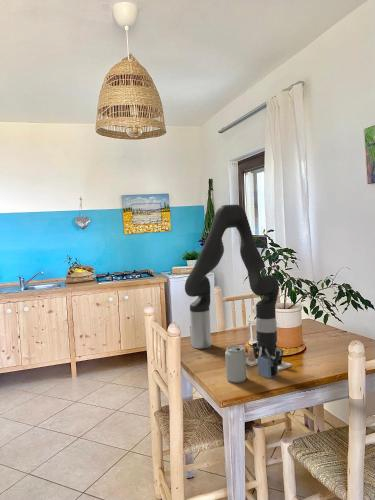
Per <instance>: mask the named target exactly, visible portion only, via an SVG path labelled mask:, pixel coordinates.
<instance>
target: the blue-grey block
mask: <svg viewBox="0 0 375 500" xmlns="http://www.w3.org/2000/svg"><path fill="white" fill-rule="evenodd" d="M271 357H273V356H271ZM273 363H274V359H273ZM257 374H258V376H261V377H264V378H266V379H268V380H269V379H271V378H274V377H277V376H279V371H278V366H277V374H276V375H275V376H271V362H270V360H268V357H267V356H266V355H264V356H261V357H260V356H259V357H258V364H257Z"/></svg>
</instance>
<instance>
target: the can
mask: <svg viewBox="0 0 375 500" xmlns="http://www.w3.org/2000/svg"><path fill="white" fill-rule="evenodd" d="M224 354H225V355H224V357H225V374H226V375H225V377H226V379H227V380H228V381H229V382H230V383H233V384H234V383H236V384H237V383H238V384H239V383H240V384H241V383H243V382H245V380H246V379H247V378H248V377H247V375H248V374H247V364H246V357H247V356H246V351H245V350H244V347H243V346H241V345H230V346H228V347H226V350H225V352H224Z"/></svg>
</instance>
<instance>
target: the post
mask: <svg viewBox="0 0 375 500" xmlns="http://www.w3.org/2000/svg"><path fill="white" fill-rule="evenodd" d="M277 349H279V350H282V348H280V347H277ZM290 367H293V366H292V363H289V362H286V361H283V360H282V364H281V365H278V372H279V371H282V370H284V369H288V368H290Z"/></svg>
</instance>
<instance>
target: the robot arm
mask: <svg viewBox="0 0 375 500" xmlns="http://www.w3.org/2000/svg"><path fill="white" fill-rule="evenodd" d="M210 226H211V227H210V230H209V233H208V235H207V237H206V239H205V242H204V244H203V246H202V248H201V250H200V253H199V256H198V259H197V260H196V262H195V264H194V267H193V268H192V270H191V271H190V273H189V274H188V276H187V278H186V280H185V283H184V292H185V293H186V296H188V297H194V298H195V297H197V298H196V299H195V300H194V301H193V302H192V303H190V305H189V318H190V325H189V333H190V335H189V336H190V338H189V339H190V346H191V347H192V348H194V349H202V350H203V349H207V348H210V347H211V346H212V334H211V333H212V332H211V315H210V314H211V313H210V307H211V281H210V280H209V278H208V277H207V275H208V274H209V273H211V272H212V271H213V270H214V269H215V268H216V267H217V266H218V265H219V263H220V261H221V260H222V258H223V255H224V253H225V247H224V243H223V242H224V241H223V236H224V234H225V231H226V230H227V229H232V228H236V230H237V231H238V233H239V236H240V247H239V254H240V258H241V261H242V263H243V264H244V266H245V269H246V270H247V276H248V277H247V278H248V281H249V282H248V283H249V287H250V289H251V291H252V293H253V294H254V295H255V296H257V297H261V296H262V299H261V300H259V301H258V302H256V305H255V307H256V308H255V313H256V320H255V325H256V326H255V329H256V332H255V333H256V342H254V343H252V344H251V345H252V349H253V351H254V357H255V359H258V357H259V356H260V357H261V356H264V355H266V356H267V357H268V360H270V362H271V376H274V377H276V376H275V375H276V374H277V366H278V365H281V364H282V361H283V356H284V350H283V349H281V350H279V349H277V348H278V347H277V342H278V327H277V317H276V314H277V313H276V305H277V301H278V295H279V292H280V285H279V281H278V279H277V277H276V276H275V275H272V274H267V275H263V276H262V274H261V272H262V271H263V270H265V268H266V264H265V261H264V259H263V257H262V255H261V253H260V251H259V249H258V246H257V244H256V241H255V239H254V235H253V233H252V229H251V226H250V222H249V219H248V216H247V213H246V211H245V209H244V207H243V206H241V205H240V204H223V205H221V206H219V207H218V209H216V212H215V214H214V217H213V219H212V224H211V225H210ZM271 356H273V357H271ZM273 359H274V363H273Z"/></svg>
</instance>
